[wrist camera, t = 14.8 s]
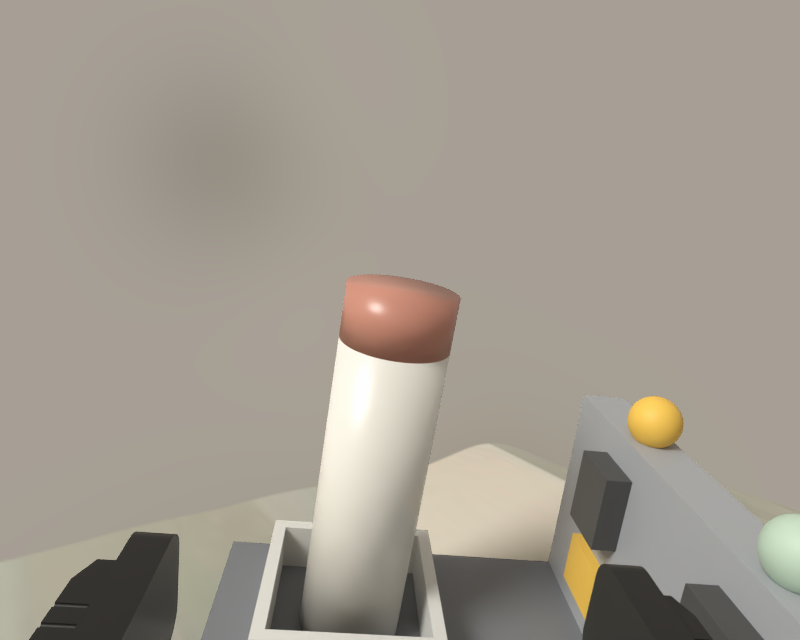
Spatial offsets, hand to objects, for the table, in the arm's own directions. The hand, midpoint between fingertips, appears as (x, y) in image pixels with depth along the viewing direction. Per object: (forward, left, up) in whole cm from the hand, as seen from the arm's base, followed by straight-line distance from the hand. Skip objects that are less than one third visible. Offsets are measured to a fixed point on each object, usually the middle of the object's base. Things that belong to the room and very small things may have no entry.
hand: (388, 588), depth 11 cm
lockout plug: (-8, -8, -10) cm, 15 cm away
